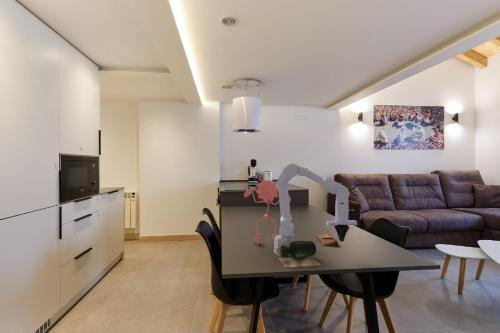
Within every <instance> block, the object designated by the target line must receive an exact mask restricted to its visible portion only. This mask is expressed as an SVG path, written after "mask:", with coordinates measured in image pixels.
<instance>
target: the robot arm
mask: <svg viewBox="0 0 500 333" xmlns="http://www.w3.org/2000/svg"><path fill="white" fill-rule="evenodd" d="M296 176H298V177H306V178H308V179H309V180H312V181H314V182H316V183H318V184H319V186H320V188H321V189H323V190H324V191H326V192H328V193H330V194H332V195H335V210H334V212H335V213H334V214H335V215H334V218H335V219H334V220H326V223H325V225H326V226H327V227H334V229H335V231H336V234H337V237H338V242H339V241H340V242H344V241H345V238H346V235H347V233H348V231H349V230H350V226H357V225H358V221H357V220H355V219H354V220H353V219H352V220H351V219H350V220H349V206H350V204H349V197H350V194H351V192H350V191H349V188H347V187H346V186H345V185H342V183H341V182H339V183H338V182H337V181H335V180H333V178H332V177H328V176H326V177H323V176H320V175H318V174H316V173H315V172H313V171H311V170H309V169H308V168H306V167H304V166H301V165H298V164H296V163H289V164H287V165H285V167H283V168H282V171H281V172H280V174H279V176H278V179H277V182H276V184H277V188H278V192H277V194H278V201H279V202H278V204H279V210H280V213H279V214H280V226H279V229H278V231H279V234H277V235H278V236H275V238H274V240H273V241H274V242H273V252H274V253H275V254H276V256H277V257H278V258H280V257H281V256H278V255H277V248H281V246H282V245H286V246H287V247H289V246H290V244H291V242H293V241H295V234H294V229H295V223H294V222H293V219H292V215H291V207H290V206H291V205H290V202H289V196H290V195H289V188H288V186H289V185H288V183H289V182H290V181H291V180H292V179H293V178H294V177H296ZM288 257H292V256H291V254H289V255H288Z"/></svg>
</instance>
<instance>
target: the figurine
mask: <svg viewBox="0 0 500 333" xmlns="http://www.w3.org/2000/svg"><path fill="white" fill-rule="evenodd" d="M257 188H258V189H256V190H255V193H256V194H257V195H258V196H257V197H258V199H260V200H261V201H256V198H255V194H254V191H253V188H252V187H251V188H249V189H247V190H246V191H245V192H244V193H243V195H244V198H247V197H249V196H250V195H251V194H252V197H253V200H254V203H266V205H267V209H266V213H265V214H264V215H263V217H262V218H261V219H259V220H257V223H258V222H261V220H268V219H270V220H271V221H272V222H274V223H275V225H277V224H278V223H277V222H276V221H275V220H274V219H272V218H270V216H269V215H268V211H269V208H270V204H271V205H275V206H277V205H279V200H278V201H277V202H276V203H274V202H273V201H274V198H279V193H278V186H277V182H276V181H272V180H271V179H268V180H265V179H262V180H261V182H260V183H258V184H257ZM291 201H292V198H291V196H290V195H289V203H291ZM258 229H259V228H258V226H256V231H257V232H256V234H255V235H254V236H253V238H252V239H250V240H253V241H254V242H255V243H257V244H256V245H257V246H259V240H260V239H261V233H259V230H258ZM274 229H275V230H274V233H273V234H272V236H271V238H270V237H267V239H272V240H273V241H274V238H275V236H278V235H279V234H276V231H277V226H274Z"/></svg>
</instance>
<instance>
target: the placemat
mask: <svg viewBox="0 0 500 333" xmlns="http://www.w3.org/2000/svg"><path fill="white" fill-rule="evenodd" d="M277 259H278V260H279V261H280V263H281V264H282V265H283V266H284V268H285V269H287V268H299V267H314V266H317V267H319V266H321V265H322V263H319V262H318V261H317V260H316V259H315V258H314V257H313V256H308V257H304V258H300V259H294V258H293V257H292V256H288V257H287V258H283V257H282V256H280V257H277Z"/></svg>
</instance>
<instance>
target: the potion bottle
mask: <svg viewBox="0 0 500 333" xmlns="http://www.w3.org/2000/svg"><path fill="white" fill-rule="evenodd" d="M316 253H317V246H316V244H315V242H314V241H312V240H294V241H293V242H291V244H290V246H289V247H287V246H286V245H282V246H281V248H277V255H278V256H277V255H276V256H277V257H279V256H280V257H283V258H287V257H289V256H288V255H289V254H291V256H290V257H293V258H294V259H300V258H304V257H308V256H311V257H313V256H314V255H316Z"/></svg>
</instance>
